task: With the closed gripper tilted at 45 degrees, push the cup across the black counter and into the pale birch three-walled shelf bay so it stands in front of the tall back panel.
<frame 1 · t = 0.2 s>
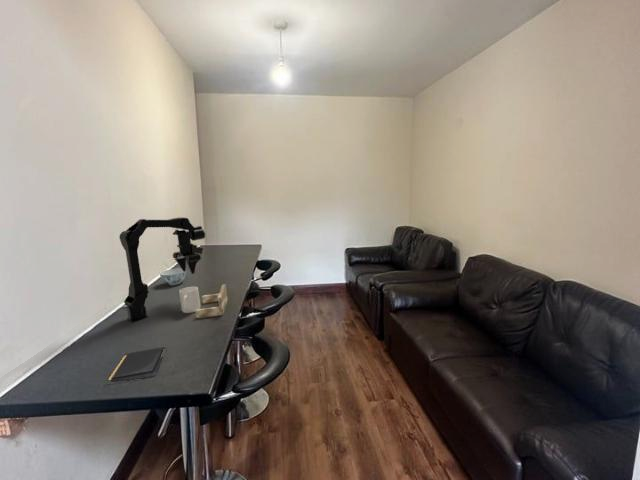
hand: (188, 272, 172), 14 cm above the table, tool pointing down, fingers open, 9 cm apart
dark grey notebook: (139, 367, 112), on the table
chinaware: (175, 283, 207), on the table
cup: (190, 311, 158), on the table
shelf bay: (211, 308, 159), on the table
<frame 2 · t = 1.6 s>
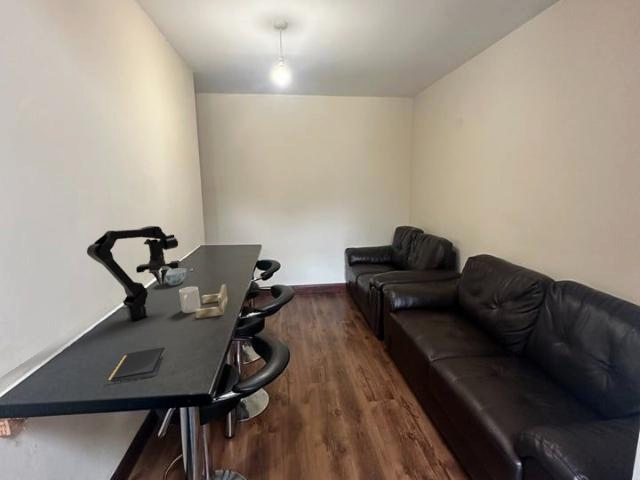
hand: (161, 283, 163), 12 cm above the table, tool pointing down, fingers closed
nothing on the table moved.
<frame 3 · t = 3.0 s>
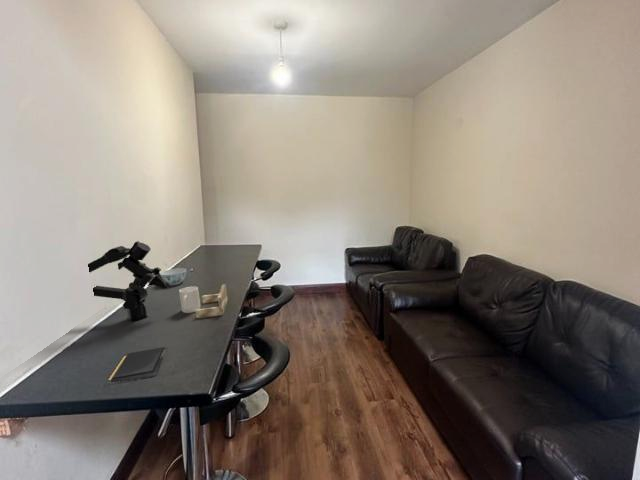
hand: (166, 288, 154), 12 cm above the table, tool tilted 45°, fingers closed
nothing on the table moved.
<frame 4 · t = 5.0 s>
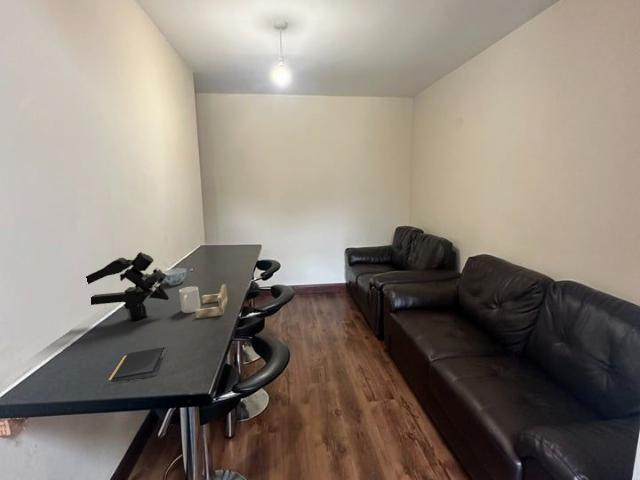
hand: (168, 299, 155), 7 cm above the table, tool tilted 45°, fingers closed
nothing on the table moved.
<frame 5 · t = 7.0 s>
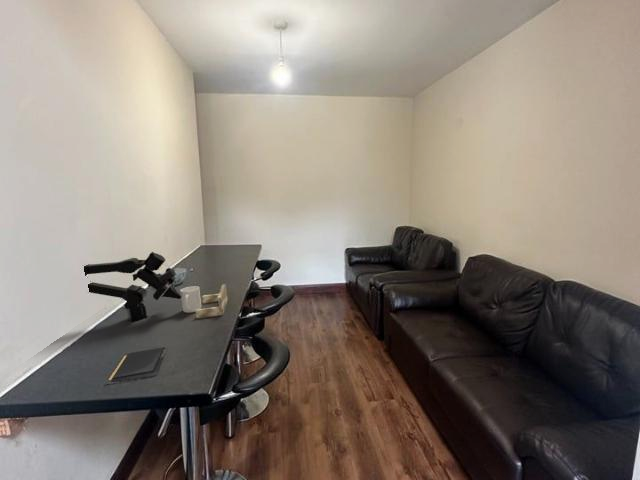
hand: (180, 298, 156), 7 cm above the table, tool tilted 45°, fingers closed
cup: (191, 311, 158), on the table, touching gripper
everything else where it was.
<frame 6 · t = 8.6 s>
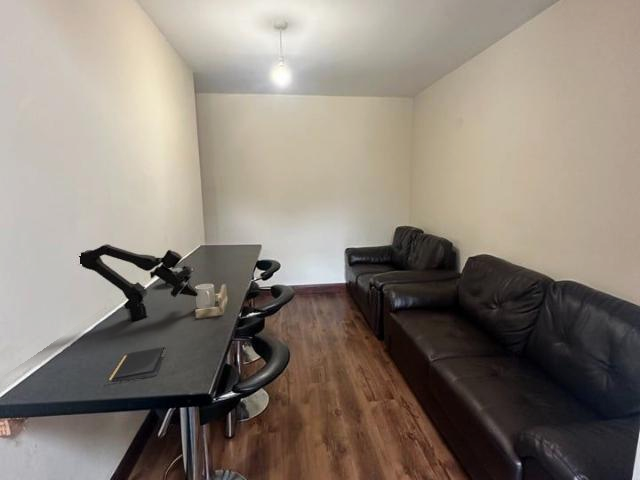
hand: (197, 295, 157), 7 cm above the table, tool tilted 45°, fingers closed
cup: (207, 308, 160), on the table, touching gripper
everything else where it was.
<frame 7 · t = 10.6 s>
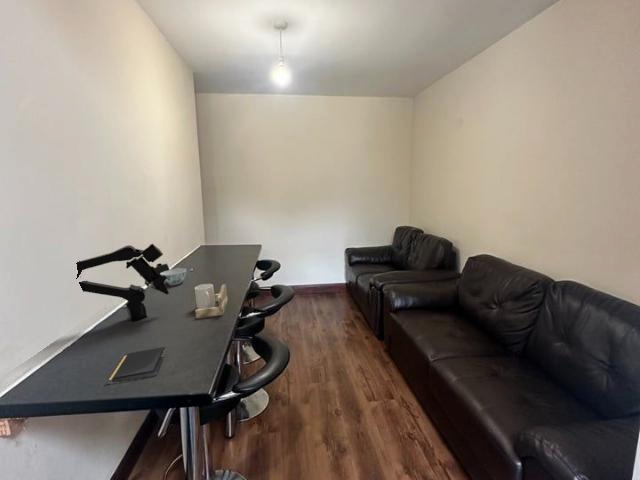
hand: (167, 293, 158), 9 cm above the table, tool tilted 30°, fingers closed
cup: (207, 308, 160), on the table
everything else where it was.
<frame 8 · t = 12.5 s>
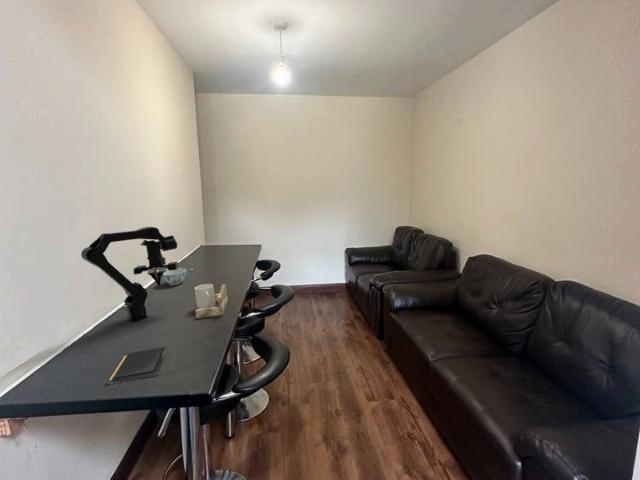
hand: (159, 285, 161), 12 cm above the table, tool pointing down, fingers closed
nothing on the table moved.
at the end: cup 2.4 cm from the shelf bay (horizontally); cup tilted 0°; cup moved 7.6 cm from its start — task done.
